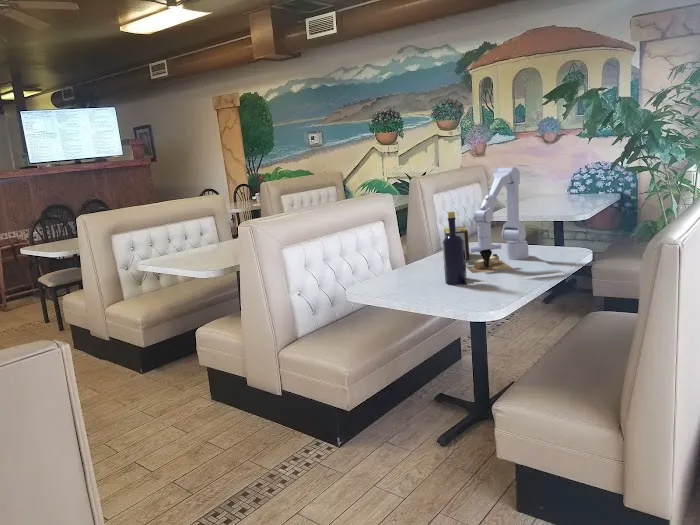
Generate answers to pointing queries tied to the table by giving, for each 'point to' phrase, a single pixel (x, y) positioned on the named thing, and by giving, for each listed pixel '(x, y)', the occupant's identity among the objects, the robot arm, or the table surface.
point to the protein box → (464, 235)
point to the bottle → (454, 255)
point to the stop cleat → (472, 261)
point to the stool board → (490, 267)
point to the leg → (492, 260)
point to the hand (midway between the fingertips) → (486, 266)
